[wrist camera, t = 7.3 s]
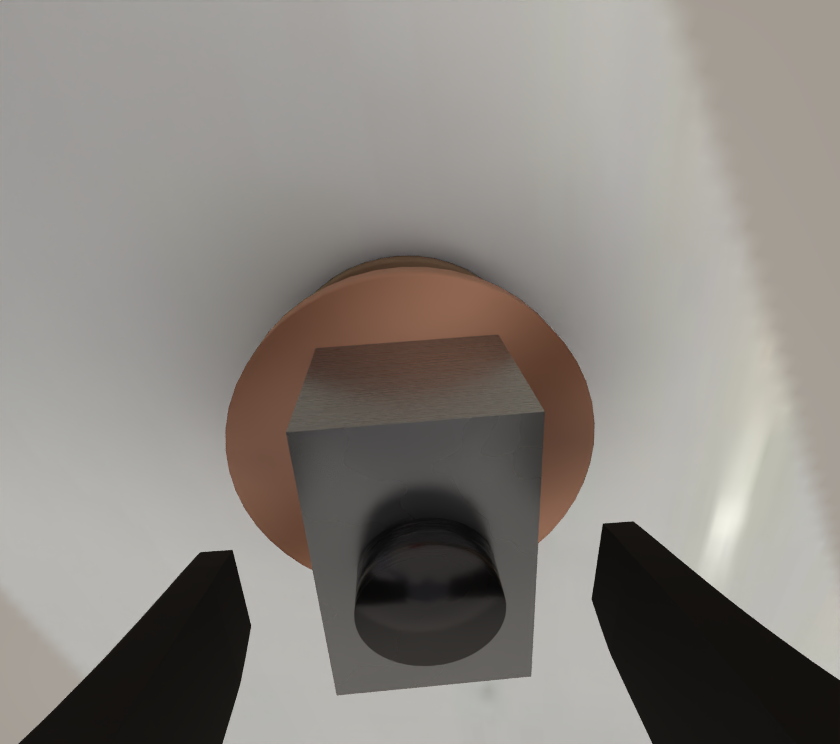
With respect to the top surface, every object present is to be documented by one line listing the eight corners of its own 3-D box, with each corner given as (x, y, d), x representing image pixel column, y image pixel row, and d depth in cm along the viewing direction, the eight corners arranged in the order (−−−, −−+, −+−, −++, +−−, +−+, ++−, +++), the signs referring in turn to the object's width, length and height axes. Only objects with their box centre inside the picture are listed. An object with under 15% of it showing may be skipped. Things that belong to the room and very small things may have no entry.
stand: (211, 394, 18) (151, 477, 13) (392, 171, 15) (395, 181, 11) (417, 531, 21) (425, 636, 17) (598, 366, 18) (667, 437, 14)
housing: (348, 563, 15) (332, 742, 11) (316, 347, 12) (273, 465, 8) (496, 550, 15) (543, 721, 11) (498, 334, 12) (563, 442, 8)
